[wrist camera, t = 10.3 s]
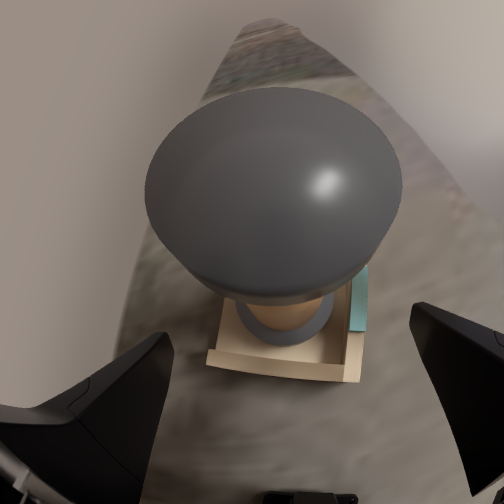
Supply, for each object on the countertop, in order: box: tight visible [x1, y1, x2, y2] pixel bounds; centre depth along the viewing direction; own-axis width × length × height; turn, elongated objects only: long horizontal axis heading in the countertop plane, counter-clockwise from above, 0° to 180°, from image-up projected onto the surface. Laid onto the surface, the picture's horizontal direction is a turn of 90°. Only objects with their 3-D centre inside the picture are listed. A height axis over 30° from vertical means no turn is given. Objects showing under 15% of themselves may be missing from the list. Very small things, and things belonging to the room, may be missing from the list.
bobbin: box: [145, 87, 402, 347], centre depth 12 cm, size 6×6×13 cm
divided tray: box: [206, 265, 368, 382], centre depth 19 cm, size 19×9×3 cm, turn 171°
